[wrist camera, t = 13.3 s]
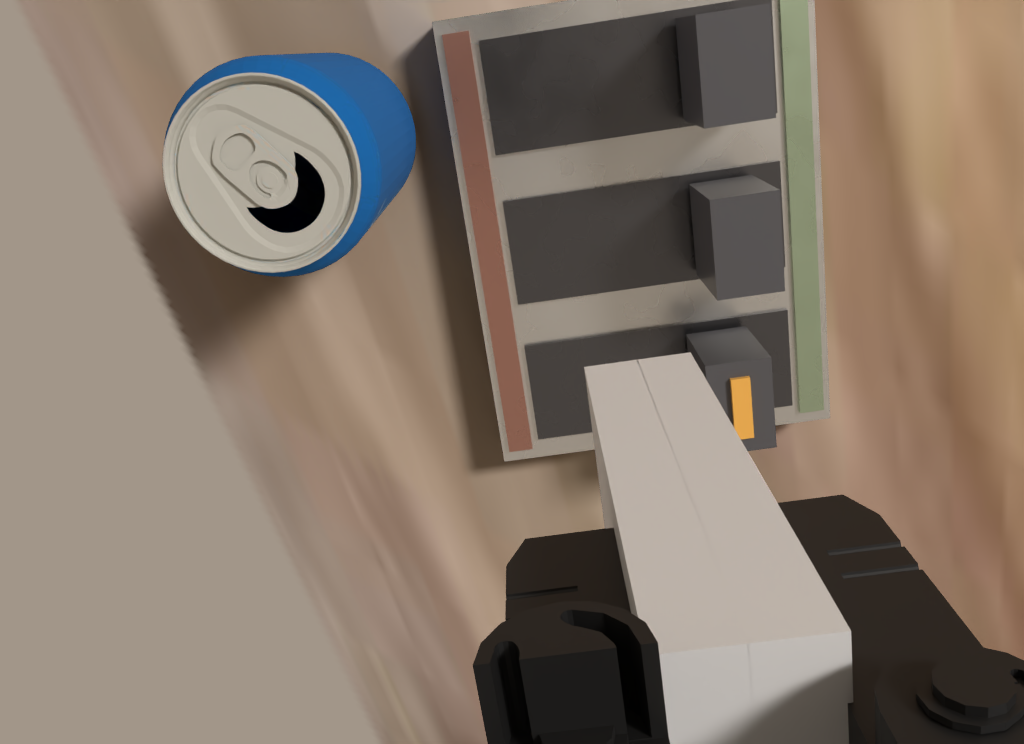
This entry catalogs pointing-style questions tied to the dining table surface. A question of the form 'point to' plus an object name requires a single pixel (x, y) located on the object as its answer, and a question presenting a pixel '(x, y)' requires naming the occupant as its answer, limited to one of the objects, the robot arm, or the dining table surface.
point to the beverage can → (287, 159)
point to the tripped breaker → (739, 381)
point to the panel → (620, 203)
